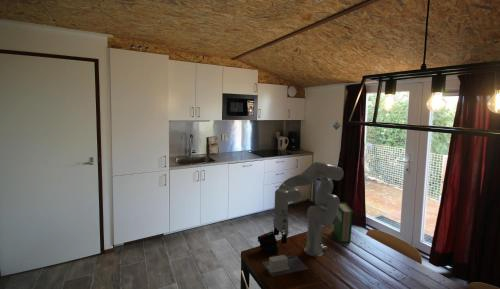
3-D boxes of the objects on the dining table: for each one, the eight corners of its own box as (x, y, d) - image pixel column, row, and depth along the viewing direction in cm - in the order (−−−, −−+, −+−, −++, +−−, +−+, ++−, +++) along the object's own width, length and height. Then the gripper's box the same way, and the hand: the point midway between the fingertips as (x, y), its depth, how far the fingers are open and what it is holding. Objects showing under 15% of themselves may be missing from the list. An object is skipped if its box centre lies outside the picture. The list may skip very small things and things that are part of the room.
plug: (292, 262, 155) (293, 253, 155) (296, 266, 151) (296, 257, 150) (268, 267, 150) (269, 257, 149) (271, 271, 146) (272, 261, 145)
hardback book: (350, 243, 183) (353, 211, 180) (339, 242, 184) (342, 210, 181) (343, 231, 201) (345, 202, 198) (333, 231, 201) (335, 202, 198)
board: (296, 257, 163) (296, 250, 162) (308, 270, 150) (309, 263, 149) (261, 264, 155) (262, 256, 154) (271, 278, 142) (271, 270, 141)
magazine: (282, 253, 164) (273, 233, 163) (263, 260, 166) (254, 240, 164) (282, 250, 168) (273, 230, 166) (263, 257, 169) (254, 237, 168)
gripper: (294, 216, 138) (293, 245, 141) (280, 204, 154) (279, 231, 157) (281, 217, 136) (280, 247, 138) (268, 206, 152) (268, 233, 154)
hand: (279, 238), depth 147 cm, fingers open, 9 cm apart
